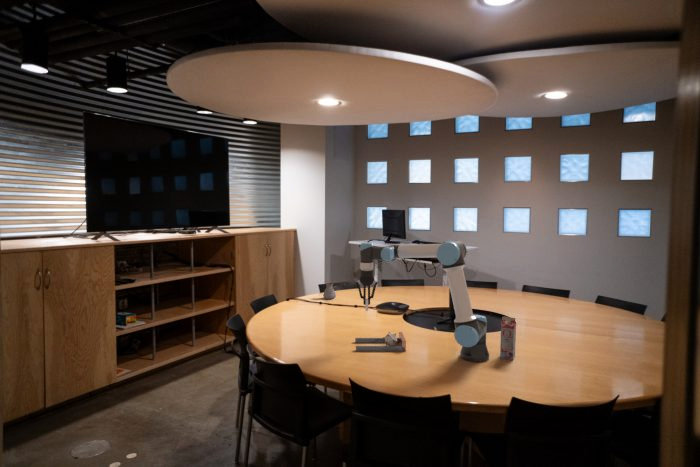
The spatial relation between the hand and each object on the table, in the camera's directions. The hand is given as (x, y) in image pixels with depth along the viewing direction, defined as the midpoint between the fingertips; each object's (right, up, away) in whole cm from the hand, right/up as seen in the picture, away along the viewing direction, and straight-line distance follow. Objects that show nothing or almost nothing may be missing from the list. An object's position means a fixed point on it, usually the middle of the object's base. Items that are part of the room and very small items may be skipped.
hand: (366, 310), depth 254 cm
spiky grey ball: (+14, -22, +2) cm, 26 cm away
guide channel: (+8, -21, +1) cm, 23 cm away
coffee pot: (-23, -13, +130) cm, 133 cm away
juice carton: (+76, -23, -16) cm, 81 cm away
